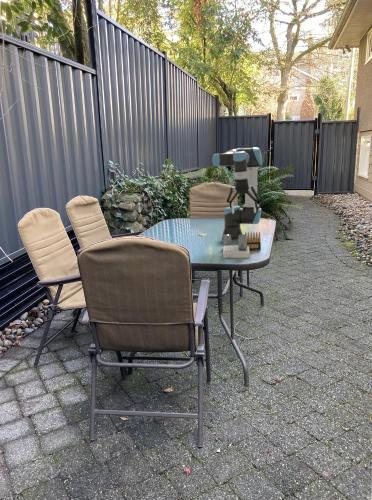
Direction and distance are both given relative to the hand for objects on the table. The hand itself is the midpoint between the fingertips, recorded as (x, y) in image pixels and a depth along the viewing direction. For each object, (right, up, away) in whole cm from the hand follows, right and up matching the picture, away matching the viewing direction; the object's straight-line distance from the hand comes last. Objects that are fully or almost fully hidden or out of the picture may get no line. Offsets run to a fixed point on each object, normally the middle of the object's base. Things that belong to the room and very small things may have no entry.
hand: (244, 212), depth 237 cm
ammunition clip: (+8, -23, +15) cm, 29 cm away
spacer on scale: (-1, -23, 0) cm, 23 cm away
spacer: (-8, -22, +21) cm, 31 cm away
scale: (-4, -26, +5) cm, 27 cm away
